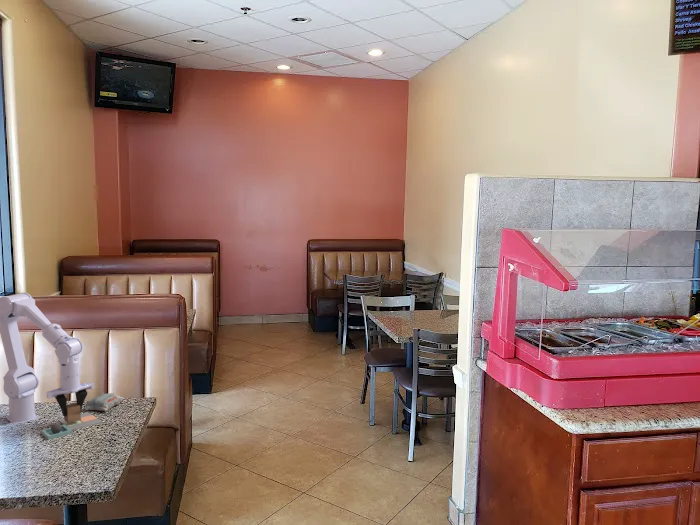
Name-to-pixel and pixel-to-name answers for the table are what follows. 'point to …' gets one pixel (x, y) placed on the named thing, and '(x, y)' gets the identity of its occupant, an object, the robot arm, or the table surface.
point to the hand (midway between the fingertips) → (71, 413)
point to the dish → (63, 432)
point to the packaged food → (103, 402)
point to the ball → (56, 428)
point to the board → (82, 421)
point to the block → (73, 413)
